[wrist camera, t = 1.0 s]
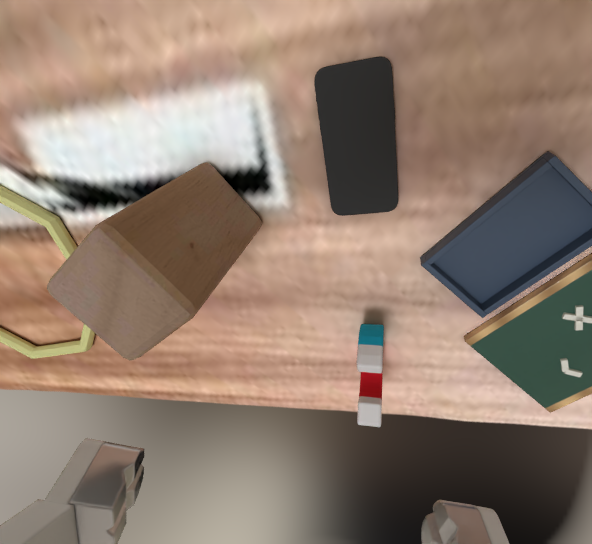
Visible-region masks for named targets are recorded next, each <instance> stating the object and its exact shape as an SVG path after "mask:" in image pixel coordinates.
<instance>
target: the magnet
mask: <svg viewBox="0 0 592 544" xmlns="http://www.w3.org/2000/svg"><path fill="white" fill-rule="evenodd" d="M383 336H384V326H383V325H376V324H362V325H361V327H360V332H359V341H358V352H357V369H358V371H359V372H361V380H360V393H359V401H358V424H359V425H367V426H374V427H380V426H381V407H382V372H383Z"/></svg>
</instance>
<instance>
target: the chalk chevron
mask: <svg viewBox="0 0 592 544" xmlns="http://www.w3.org/2000/svg"><path fill="white" fill-rule="evenodd" d="M560 363H561V370H562V372H564V374H568V375H572V376H576V377H581V375H582V374H583V373H582V371H578V370H574V369H570V368H569V366H568V360H567V358H563V359H560Z"/></svg>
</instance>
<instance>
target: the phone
mask: <svg viewBox="0 0 592 544" xmlns="http://www.w3.org/2000/svg"><path fill="white" fill-rule="evenodd" d="M315 91H316V101H317V106H318V115H319V121H320V130H321V136H322V143H323V150H324V158H325V165H326V172H327V180H328V187H329V195H330V202H331V207H332V210H333V212H334V213H336V214H337V215H342V216H343V215H356V214H368V213H379V212H389V211H392V210H394V209H395V208H396V207H397V204H398V181H397V160H396V140H395V108H394V98H393V77H392V66H391V63H390V61H389V60H388V59H387V58H385V57H374V58H369V59H363V60H358V61H353V62H348V63H343V64H338V65H333V66H328V67H324V68H322V69H320V70H319V71H318V72H317V73H316V75H315Z"/></svg>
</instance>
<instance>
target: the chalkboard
mask: <svg viewBox="0 0 592 544" xmlns="http://www.w3.org/2000/svg"><path fill="white" fill-rule="evenodd" d="M577 305H582V306H583V307H584V308H583V315H585V316H592V254H590V255H589V256H587V257H586V258H584V259H582V260H581V261H579V262H578V263H576V264H575V265H573V266H572V267H570V268H569V269H567V270H565V271H564V272H562V273H561V274H559V275H558V276H556V277H555V278H553V279H552V280H550V281H549V282H547V283H545V284H544V285H542V286H541V287H539V288H538V289H536V290H535V291H533V292H532V293H530V294H528V295H527V296H525V297H524V298H522V299H521V300H519V301H518V302H516V303H515V304H513V305H512V306H510V307H508V308H507V309H505V310H504V311H502V312H501V313H499V314H498V315H496V316H495V317H493V318H491V319H490V320H488V321H487V322H485V323H484V324H482V325H481V326H479V327H478V328H476V329H475V330H473V331H471V332H470V333H468V334H467V335H465V336H464V339H465V342H466V343H468V344H469V345H470V346H471V347H472V348H474V349H475V350H476V351H477V352H478V353H480V354H481V355H482V356H483V357H484V358H486V359H487V360H488V361H489V362H490V363H492V364H493V365H494V366H495V367H496V368H498V369H499V370H500V371H501V372H502V373H504V374H505V375H506V376H507V377H508V378H510V379H511V380H512V381H513V382H514V383H516V384H517V385H518V386H519V387H520V388H521V389H523V390H524V391H525V392H526V393H527V394H529V395H530V396H531V397H532V398H533V399H535V400H536V401H537V402H538V403H539V404H541V405H542V406H543V407H544V408H545V409H547V410H548V411H549V412H550V413H551V412H553V411H555V410H557V409H559V408H561V407H564V406H566V405H568V404H570V403H572V402H574V401H577V400H579V399H581V398H583V397H585V396H588V395H590V394H592V323H586V322H583V330H577V331H576V330H575V329H574V324H575V321H573V320H566V319H563V318H562V315H563V313H564V312H566V313H572V314H575V306H577ZM563 358H567V360H568V366H569V368H570V369H574V370H578V371H582V373H583V374H582V375H581V377H576V376H572V375H568V374H564V372H562V370H561V363H560V359H563Z"/></svg>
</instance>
